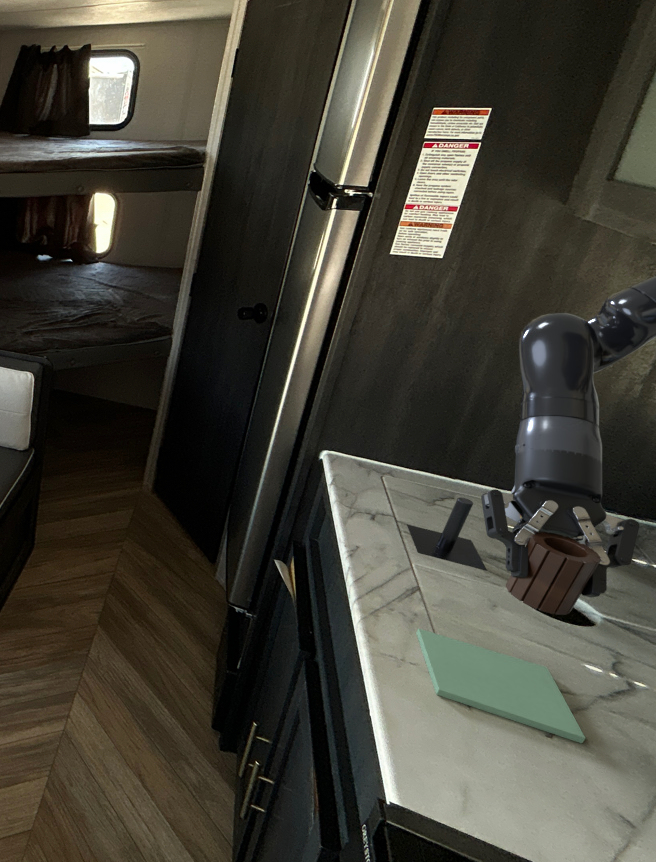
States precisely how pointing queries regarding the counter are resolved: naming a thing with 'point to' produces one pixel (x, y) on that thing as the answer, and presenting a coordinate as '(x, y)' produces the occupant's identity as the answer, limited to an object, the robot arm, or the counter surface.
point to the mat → (498, 684)
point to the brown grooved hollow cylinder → (554, 573)
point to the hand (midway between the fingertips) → (554, 585)
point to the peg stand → (449, 539)
